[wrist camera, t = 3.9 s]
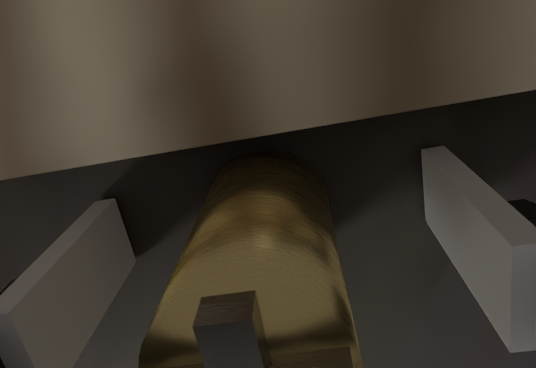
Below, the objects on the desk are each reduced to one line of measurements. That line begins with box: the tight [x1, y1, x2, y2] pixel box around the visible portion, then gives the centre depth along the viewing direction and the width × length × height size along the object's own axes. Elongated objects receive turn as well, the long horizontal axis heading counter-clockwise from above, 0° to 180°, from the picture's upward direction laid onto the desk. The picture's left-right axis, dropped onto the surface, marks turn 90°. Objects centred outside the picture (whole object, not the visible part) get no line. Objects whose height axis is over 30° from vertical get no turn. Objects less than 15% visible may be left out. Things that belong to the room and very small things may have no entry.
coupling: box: [139, 150, 363, 368], centre depth 12 cm, size 4×4×9 cm
